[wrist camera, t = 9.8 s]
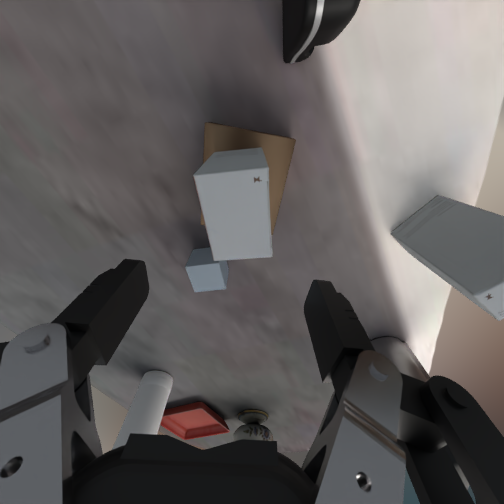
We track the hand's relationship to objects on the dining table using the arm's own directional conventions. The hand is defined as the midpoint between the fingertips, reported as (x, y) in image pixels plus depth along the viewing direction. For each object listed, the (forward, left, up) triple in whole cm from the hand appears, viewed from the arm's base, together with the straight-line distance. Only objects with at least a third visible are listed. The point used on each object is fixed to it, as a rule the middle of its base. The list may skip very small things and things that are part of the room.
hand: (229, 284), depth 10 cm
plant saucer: (+8, +76, -22) cm, 80 cm away
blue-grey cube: (+4, +14, -22) cm, 26 cm away
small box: (0, 0, -19) cm, 19 cm away
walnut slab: (0, 0, -22) cm, 22 cm away
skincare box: (-28, +3, -22) cm, 36 cm away
